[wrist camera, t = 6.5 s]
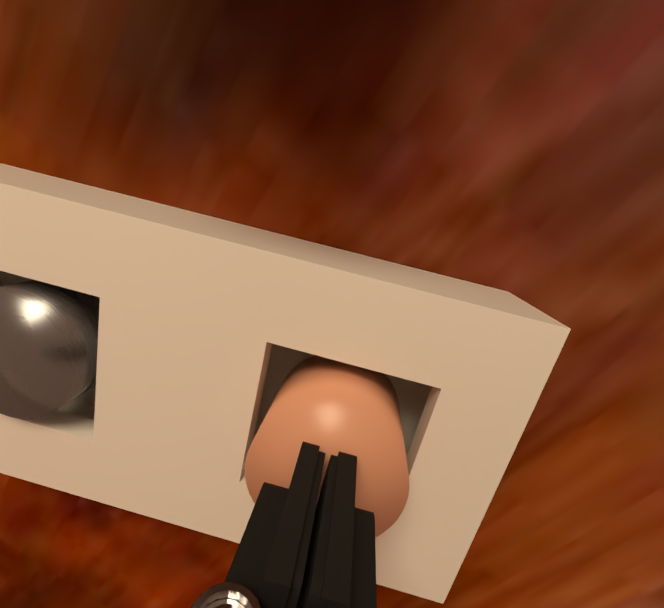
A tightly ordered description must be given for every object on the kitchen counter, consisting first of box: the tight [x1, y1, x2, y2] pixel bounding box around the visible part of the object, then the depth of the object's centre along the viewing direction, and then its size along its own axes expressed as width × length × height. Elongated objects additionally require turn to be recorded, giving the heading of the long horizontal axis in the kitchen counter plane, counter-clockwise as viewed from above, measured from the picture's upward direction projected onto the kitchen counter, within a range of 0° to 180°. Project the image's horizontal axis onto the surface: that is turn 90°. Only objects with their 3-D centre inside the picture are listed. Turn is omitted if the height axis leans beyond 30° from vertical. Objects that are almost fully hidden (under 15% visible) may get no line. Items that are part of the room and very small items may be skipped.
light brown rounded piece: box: [245, 355, 409, 538], centre depth 12 cm, size 5×5×4 cm
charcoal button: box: [0, 280, 100, 419], centre depth 14 cm, size 5×5×4 cm
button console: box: [0, 164, 571, 604], centre depth 15 cm, size 24×12×5 cm, turn 76°
